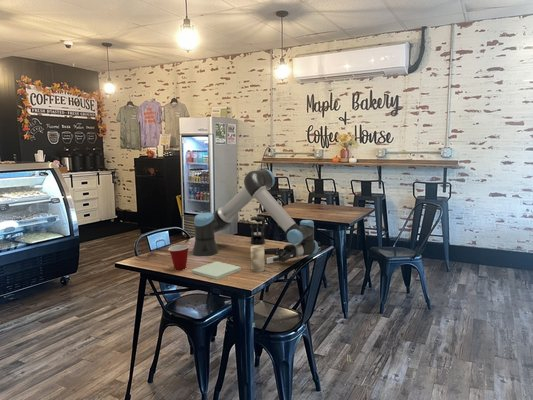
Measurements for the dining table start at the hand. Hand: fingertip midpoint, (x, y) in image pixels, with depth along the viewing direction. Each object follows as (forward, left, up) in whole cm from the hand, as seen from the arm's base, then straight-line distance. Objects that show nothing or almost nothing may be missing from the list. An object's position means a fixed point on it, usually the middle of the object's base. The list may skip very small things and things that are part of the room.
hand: (259, 257), depth 204 cm
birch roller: (-1, -1, -6) cm, 6 cm away
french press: (-36, +43, -7) cm, 56 cm away
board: (-17, -15, -6) cm, 23 cm away
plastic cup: (-36, -23, -7) cm, 43 cm away
